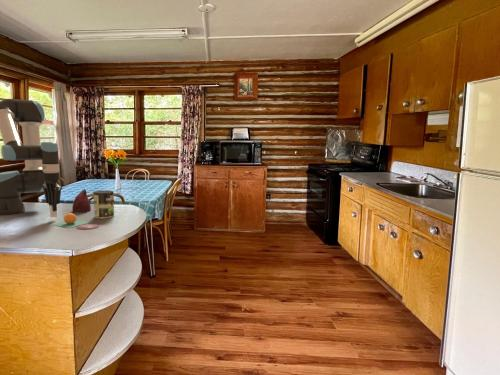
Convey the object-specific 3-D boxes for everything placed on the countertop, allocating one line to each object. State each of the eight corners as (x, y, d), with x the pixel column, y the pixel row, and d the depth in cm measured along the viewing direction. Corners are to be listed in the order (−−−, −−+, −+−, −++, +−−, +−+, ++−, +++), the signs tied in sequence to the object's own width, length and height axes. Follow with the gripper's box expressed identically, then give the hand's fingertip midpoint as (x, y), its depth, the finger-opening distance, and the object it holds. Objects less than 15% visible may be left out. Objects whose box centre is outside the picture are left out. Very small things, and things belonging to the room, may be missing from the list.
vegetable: (93, 215, 204) (100, 191, 203) (80, 216, 195) (86, 191, 193) (81, 209, 208) (87, 186, 206) (67, 210, 198) (73, 186, 196)
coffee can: (118, 215, 191) (117, 190, 189) (107, 219, 181) (106, 193, 179) (102, 214, 193) (101, 189, 191) (90, 218, 183) (89, 192, 181)
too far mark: (71, 227, 162) (71, 227, 162) (89, 223, 171) (89, 223, 171) (85, 230, 157) (85, 230, 157) (103, 226, 166) (103, 225, 166)
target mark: (52, 225, 166) (52, 224, 166) (74, 220, 177) (74, 219, 177) (68, 228, 161) (68, 227, 161) (90, 223, 172) (90, 222, 172)
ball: (63, 226, 168) (60, 216, 168) (73, 224, 172) (70, 214, 173) (70, 222, 165) (66, 212, 166) (80, 220, 170) (76, 210, 170)
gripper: (35, 172, 171) (38, 217, 175) (52, 173, 166) (54, 220, 169) (50, 171, 178) (52, 214, 181) (66, 172, 172) (68, 217, 176)
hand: (53, 217), depth 175 cm, fingers closed
